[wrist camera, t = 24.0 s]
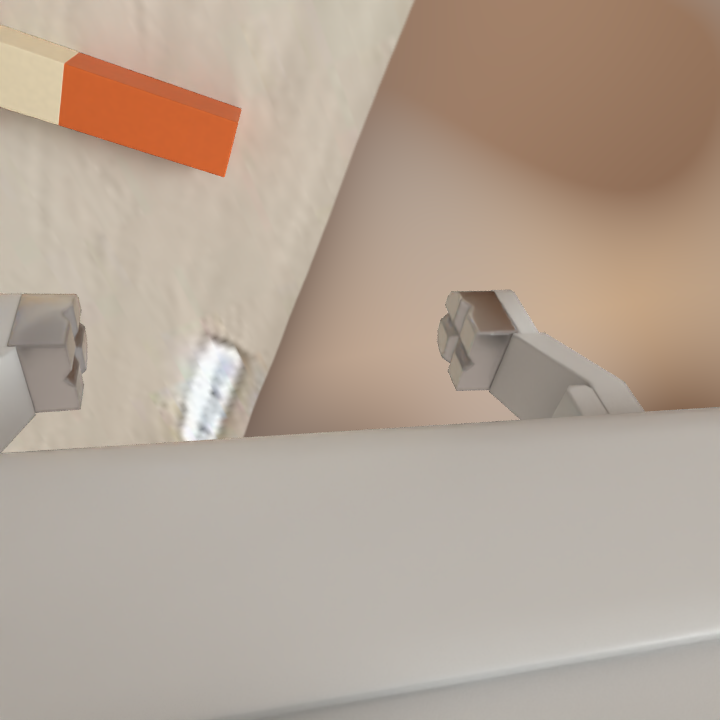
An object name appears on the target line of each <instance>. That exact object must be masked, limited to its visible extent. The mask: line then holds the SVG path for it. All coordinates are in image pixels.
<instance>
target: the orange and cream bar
mask: <svg viewBox="0 0 720 720" xmlns="http://www.w3.org/2000/svg"><path fill="white" fill-rule="evenodd" d="M0 107H2V108H5V109H8V110H11V111H14V112H17V113H21V114H24V115H27V116H30V117H33V118H37V119H40V120H43V121H46V122H49V123H52V124H56V125H60V126H63V127H66V128H69V129H73V130H76V131H79V132H82V133H85V134H89V135H92V136H95V137H98V138H101V139H104V140H108V141H111V142H114V143H117V144H120V145H123V146H127V147H130V148H133V149H136V150H139V151H142V152H146V153H149V154H152V155H155V156H158V157H161V158H165V159H168V160H171V161H174V162H177V163H180V164H184V165H187V166H190V167H193V168H196V169H200V170H203V171H206V172H209V173H212V174H215V175H219V176H222V177H225V173H226V169H227V165H228V161H229V157H230V153H231V149H232V145H233V141H234V137H235V133H236V129H237V125H238V121H239V117H240V113H241V108H238V107H235V106H232V105H229V104H226V103H223V102H220V101H218V100H215V99H212V98H209V97H206V96H203V95H200V94H197V93H195V92H192V91H189V90H186V89H183V88H180V87H177V86H174V85H172V84H169V83H166V82H163V81H160V80H157V79H154V78H151V77H149V76H146V75H143V74H140V73H137V72H134V71H131V70H128V69H126V68H123V67H120V66H117V65H114V64H111V63H108V62H105V61H102V60H100V59H97V58H94V57H91V56H88V55H85V54H82V53H79V52H78V51H75V50H72V49H69V48H66V47H63V46H60V45H58V44H55V43H52V42H49V41H46V40H43V39H40V38H37V37H35V36H32V35H29V34H26V33H23V32H20V31H17V30H14V29H12V28H9V27H6V26H3V25H0Z"/></svg>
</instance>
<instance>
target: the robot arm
mask: <svg viewBox="0 0 720 720" xmlns="http://www.w3.org/2000/svg"><path fill="white" fill-rule="evenodd" d="M445 306H446V308H447V310H448V312H449V313H448V314H447V315H445V316H444V317H443V318H442V319H441V320H440V324H439V328H438V347H439V351H440V353H441V356H442V358H444V359H445V360H446V361H448V362H449V363H450V365H449V369H448V373H449V375H450V377H451V380H452V382H453V384H454V386H455V389H456V390H457V391H464V390H489V392H490V393H491V394H492V395H493V396H495V397H496V398H497V399H498V400H499V401H500V402H501V403H503V404H504V405H505V406H506V407H507V408H508V409H509V410H510V411H511V412H513V413H514V414H515V415H516V416H517V417H518V418H519V419H520V420H511V421H496V422H480V423H465V424H450V425H433V426H418V427H404V428H403V427H402V428H386V429H370V430H355V431H341V432H325V433H309V434H293V435H278V436H262V437H246V438H231V439H215V440H199V441H183V442H168V443H152V444H136V445H121V446H105V447H89V448H73V449H58V450H42V451H26V452H11V453H1V452H2V451H3V450H4V449H5V448H6V447H7V446H8V445H9V444H10V442H11V441H12V440H13V439H14V438H15V437H16V436H17V435H18V434H19V433H20V432H21V430H22V429H23V428H24V427H25V426H26V425H27V424H28V423H29V422H30V421H31V420H32V419H33V417H34V416H35V415H36V414H35V413H39V412H52V411H65V410H79V409H81V402H82V396H83V389H84V384H83V379H82V373H84V372H85V371H86V367H87V337H86V331H85V326H83V325H82V324H81V323H80V316H81V306H80V301H79V297H78V296H77V294H27V293H24V294H0V720H720V407H713V408H698V409H682V410H667V411H652V412H645V411H644V410H643V408H642V407H641V405H640V404H639V402H638V401H637V399H636V398H635V397H634V395H633V394H632V392H631V391H630V389H629V388H628V386H627V385H626V383H625V382H624V381H622V380H621V379H619V378H617V377H616V376H614V375H612V374H611V373H609V372H608V371H606V370H604V369H603V368H601V367H599V366H598V365H596V364H595V363H593V362H591V361H590V360H588V359H587V358H585V357H583V356H582V355H580V354H578V353H577V352H575V351H574V350H572V349H570V348H568V347H567V346H566V345H564V344H562V343H561V342H559V341H557V340H556V339H554V338H552V337H551V336H549V335H548V334H546V333H539V332H538V330H537V329H536V327H535V325H534V324H533V322H532V320H531V319H530V317H529V316H528V314H527V312H526V311H525V309H524V307H523V306H522V304H521V303H520V301H519V299H518V297H517V296H516V294H515V293H514V292H513V291H511V290H491V291H452V292H451V293H450V294H449V296H448V298H447V301H446V304H445Z"/></svg>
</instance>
